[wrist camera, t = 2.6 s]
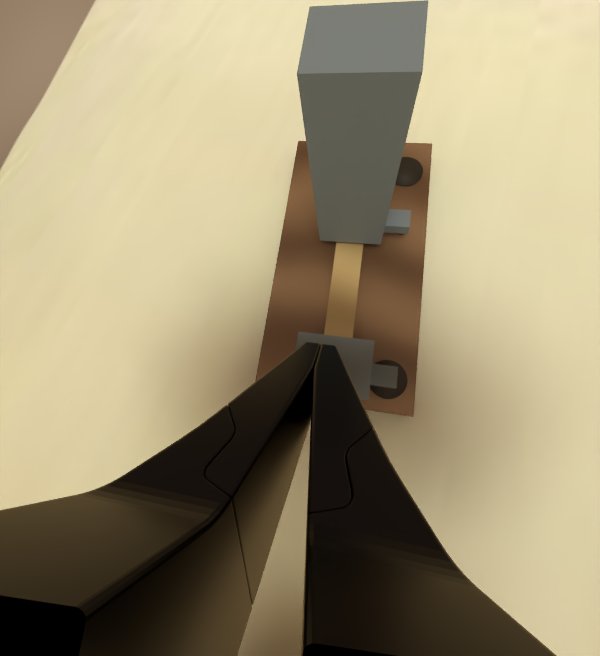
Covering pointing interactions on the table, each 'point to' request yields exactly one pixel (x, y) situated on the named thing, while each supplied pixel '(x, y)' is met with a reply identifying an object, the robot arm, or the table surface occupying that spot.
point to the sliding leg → (359, 112)
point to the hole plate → (353, 289)
